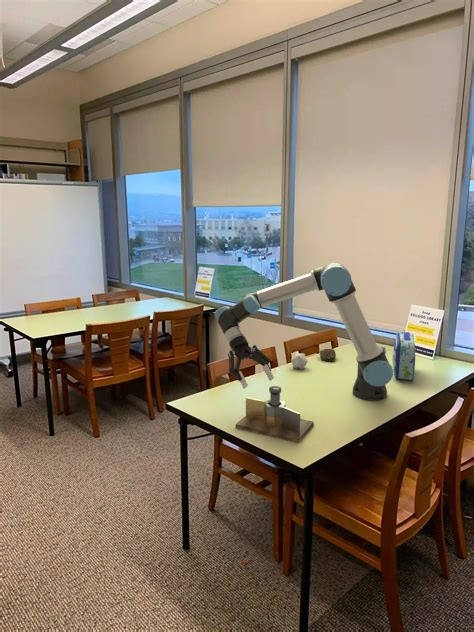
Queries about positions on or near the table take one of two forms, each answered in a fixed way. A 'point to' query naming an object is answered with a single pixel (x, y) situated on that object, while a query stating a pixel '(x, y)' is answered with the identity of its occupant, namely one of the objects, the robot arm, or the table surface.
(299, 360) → the die
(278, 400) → the hinge pin
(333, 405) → the table surface
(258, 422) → the hinge base
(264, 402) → the hinge
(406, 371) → the lunch box
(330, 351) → the concrete sample
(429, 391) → the table surface
